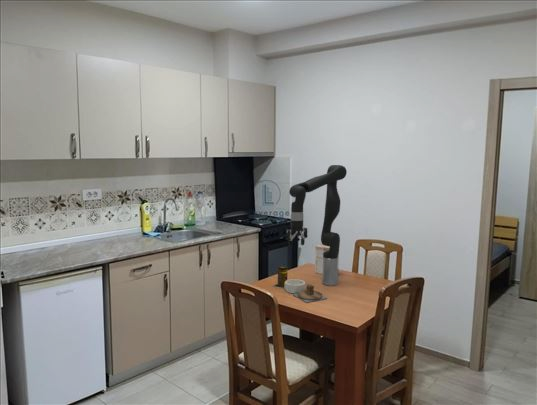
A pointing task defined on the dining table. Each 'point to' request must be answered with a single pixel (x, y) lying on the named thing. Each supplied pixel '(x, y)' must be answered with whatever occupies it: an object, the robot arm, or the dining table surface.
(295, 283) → the bowl
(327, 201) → the robot arm
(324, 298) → the mat
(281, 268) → the condiment
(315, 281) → the dining table surface
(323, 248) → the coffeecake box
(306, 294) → the lid
